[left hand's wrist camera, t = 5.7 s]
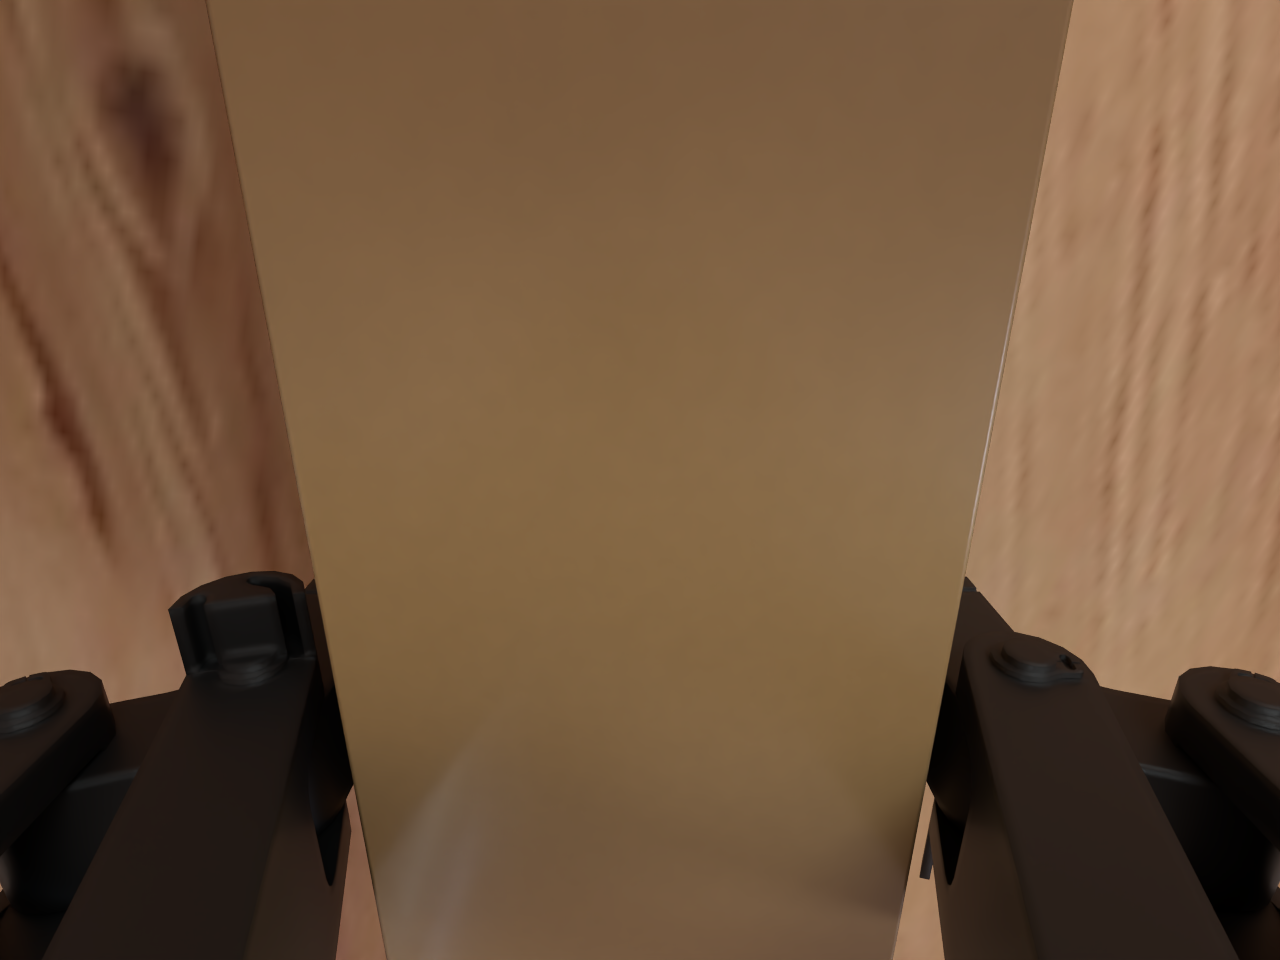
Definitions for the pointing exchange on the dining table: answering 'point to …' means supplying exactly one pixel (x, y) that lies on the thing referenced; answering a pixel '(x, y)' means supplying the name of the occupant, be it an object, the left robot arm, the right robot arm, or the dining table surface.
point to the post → (639, 437)
